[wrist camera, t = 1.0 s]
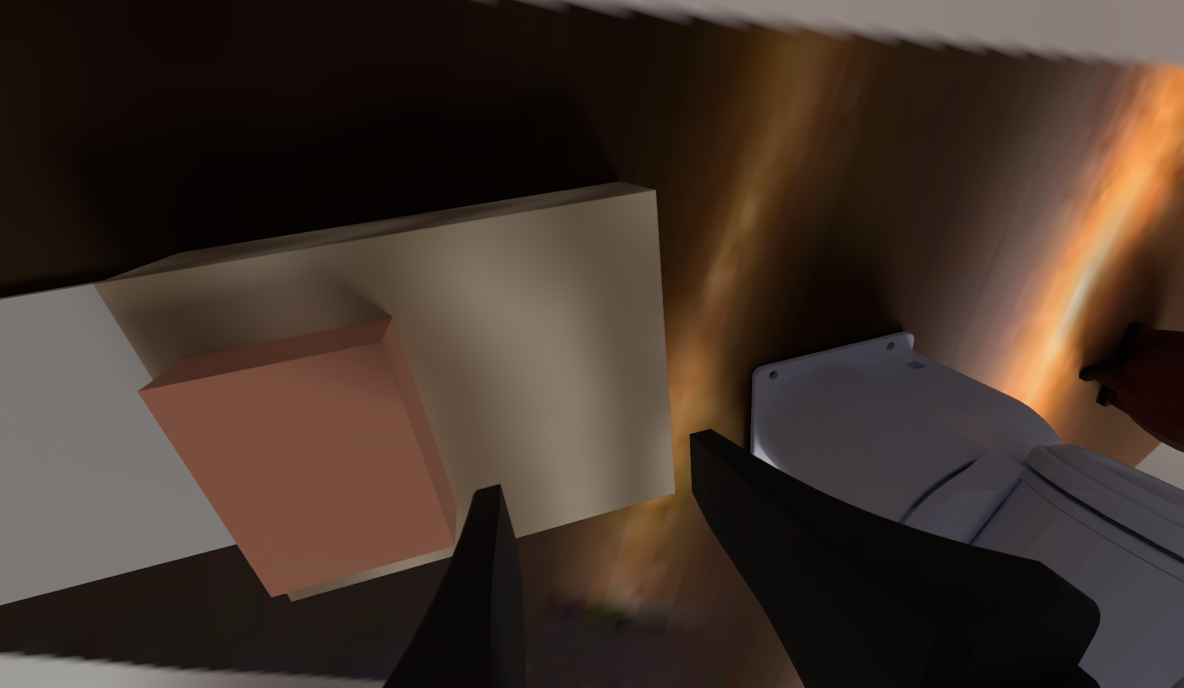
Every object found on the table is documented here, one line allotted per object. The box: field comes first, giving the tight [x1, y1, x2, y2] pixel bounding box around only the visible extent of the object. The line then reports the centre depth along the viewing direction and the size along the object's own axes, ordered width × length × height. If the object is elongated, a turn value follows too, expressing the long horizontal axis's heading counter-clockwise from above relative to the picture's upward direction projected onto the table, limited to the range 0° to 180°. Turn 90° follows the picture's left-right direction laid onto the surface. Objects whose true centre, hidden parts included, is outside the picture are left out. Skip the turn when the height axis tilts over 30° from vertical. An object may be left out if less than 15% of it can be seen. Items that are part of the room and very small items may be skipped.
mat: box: [0, 281, 237, 605], centre depth 17 cm, size 14×12×1 cm
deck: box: [93, 181, 675, 601], centre depth 18 cm, size 16×13×4 cm
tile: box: [137, 317, 457, 597], centre depth 15 cm, size 6×8×2 cm
